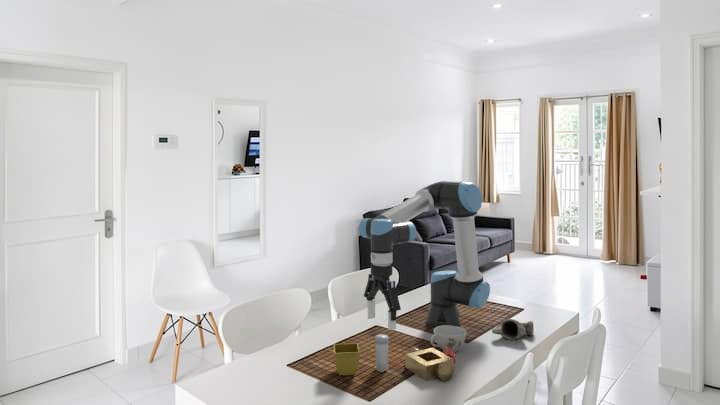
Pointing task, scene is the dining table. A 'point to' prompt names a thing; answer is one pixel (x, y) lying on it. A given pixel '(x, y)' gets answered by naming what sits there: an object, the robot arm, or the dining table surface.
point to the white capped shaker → (381, 352)
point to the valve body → (431, 363)
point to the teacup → (449, 337)
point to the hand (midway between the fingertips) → (381, 323)
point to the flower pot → (346, 358)
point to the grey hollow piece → (513, 329)
